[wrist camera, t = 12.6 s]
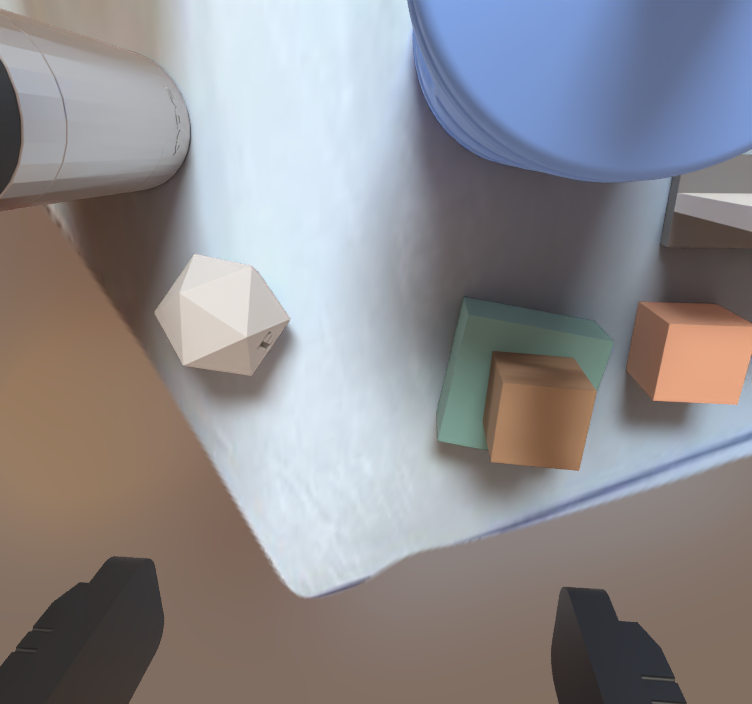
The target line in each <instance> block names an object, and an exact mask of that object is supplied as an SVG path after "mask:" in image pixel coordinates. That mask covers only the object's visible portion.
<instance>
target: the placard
mask: <svg viewBox="0 0 752 704" xmlns="http://www.w3.org/2000/svg"><path fill="white" fill-rule="evenodd" d="M660 245H663V246H665V247H684V248H747V249H752V155H739V156H736V157H734V158H732V159H729V160H727V161H724V162H722V163H719V164H716V165H714V166H711V167H708V168H705V169H702V170H698V171H695V172H691V173H687V174H683V175H678V176H673V178H672V183H671V188H670V194H669V199H668V204H667V210H666V215H665V221H664V226H663V231H662V237H661V242H660Z"/></svg>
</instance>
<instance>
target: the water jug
mask: <svg viewBox="0 0 752 704" xmlns="http://www.w3.org/2000/svg"><path fill="white" fill-rule="evenodd" d="M407 1H408V7H409V12H410V17H411V21H412V25H413V49H414V58H415V65H416V71H417V75H418V79H419V82H420V86H421V89H422V91H423V94H424V96H425V99H426V101H427V103H428V105H429V108H430V110H431V111H432V113H433V114H434V116H435V118H436V119H437V121H439V123H440V124H441V126H442V127H443V128H444V129H445V131H446V132H447V133H448V134H449V135H450V136H452V137H453V138H454V139H455V141H457V142H458V143H459V144H460V145H462V146H463V147H464V148H466V149H467V150H469V151H470V152H473V153H475V154H476V155H477V156H479V157H482V158H485V159H487V160H490V161H493V162H496V163H500V164H504V165H509V166H515V167H518V168H522V169H527V170H532V171H538V172H544V173H547V174H551V175H555V176H559V177H564V178H569V179H574V180H580V181H588V182H604V183H615V182H632V181H643V180H654V179H661V178H668V177H673V176H678V175H683V174H687V173H691V172H695V171H698V170H702V169H705V168H708V167H711V166H714V165H716V164H719V163H722V162H724V161H727V160H729V159H732V158H734V157H736V156H739V155H741V154H743V153H745V152H747V151H749V150H751V149H752V0H407Z"/></svg>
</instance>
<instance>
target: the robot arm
mask: <svg viewBox="0 0 752 704" xmlns="http://www.w3.org/2000/svg"><path fill="white" fill-rule="evenodd" d="M189 140H190V122H189V117H188V112H187V107H186V105H185V102H184V100H183V97H182V95H181V93H180V91H179V90H178V88H177V86H176V85H175V83H174V82H173V80H172V79H171V78H170V77H169V76H168V75H167V73H166V72H165V71H164V70H163V69H162V68H161V67H159V66H158V65H157V64H155V63H154V62H153V61H151V60H150V59H148V58H146V57H144V56H142V55H140V54H137V53H135V52H132V51H129V50H126V49H123V48H120V47H117V46H113V45H110V44H108V43H105V42H102V41H99V40H96V39H93V38H90V37H87V36H84V35H80V34H77V33H74V32H71V31H68V30H65V29H62V28H59V27H56V26H53V25H50V24H46V23H43V22H40V21H37V20H34V19H31V18H28V17H25V16H22V15H19V14H16V13H13V12H9V11H6V10H3V9H0V212H1V211H8V210H14V209H19V208H26V207H32V206H39V205H46V204H52V203H59V202H66V201H73V200H79V199H86V198H93V197H99V196H106V195H113V194H121V193H127V192H134V191H140V190H146V189H150V188H155V187H157V186H159V185H161V184H163V183H165V182H166V181H167V180H169V179H170V178H171V177H172V176H173V175H174V174H175V173H176V172H177V171H178V169H179V168H180V166H181V165H182V163H183V161H184V159H185V156H186V154H187V151H188V146H189ZM163 627H164V614H163V608H162V603H161V597H160V592H159V586H158V580H157V575H156V569H155V565H154V562H153V561H152V560H151V559H147V558H132V557H130V558H129V557H115V556H114V557H111V558H109V559H108V560H107V561H106V562H105V563H104V564H103V566H102V567H101V568H100V569H99V571H98V572H97V573H96V575H95V576H94V578H93V579H92V580H91V581H90V583H78V584H77V585H76V586H74V587H73V588H71V589H70V590H69V591H67V592H66V593H65V594H63V595H62V596H61V597H59V598H58V599H57V600H55V601H54V602H53V603H52V604H51V605H50V606H49V608H48V609H47V610H46V611H45V613H44V614H43V615H42V616H41V617H40V619H39V620H38V621H37V622H36V624H35V625H34V626H33V630H32V631H31V632H28V633H27V635H26V636H25V637H24V638H23V639H22V641H21V642H20V643H19V644H18V645H17V647H16V651H15V652H12V653H11V654H10V655H9V656H8V658H7V659H6V660H5V661H4V663H3V664H2V665H1V666H0V704H129V701H130V700H131V698H132V696H133V694H134V692H135V690H136V688H137V686H138V685H139V683H140V681H141V679H142V677H143V675H144V674H145V672H146V670H147V668H148V666H149V664H150V662H151V660H152V659H153V657H154V655H155V653H156V651H157V649H158V646H159V644H160V641H161V637H162V633H163ZM551 665H552V674H553V681H554V685H555V690H556V694H557V698H558V702H559V704H686V700H685V698H684V696H683V694H682V692H681V690H680V688H679V686H678V683H675V677H674V675H673V673H672V671H671V668H670V666H669V664H668V662H667V660H666V658H665V656H664V653H663V651H662V649H661V648H660V646H659V645H658V644H657V643H656V642H655V641H654V640H653V639H652V638H651V637H650V636H649V635H648V633H647V632H646V631H645V630H644V629H643V628H642V627H641V626H640V625H639V624H638V622H625V621H619V620H618V618H617V616H616V613H615V610H614V608H613V606H612V603H611V601H610V598H609V596H608V594H607V593H606V591H605V590H603V589H589V588H574V587H562V588H561V591H560V595H559V601H558V607H557V614H556V621H555V627H554V633H553V639H552V646H551Z"/></svg>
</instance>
